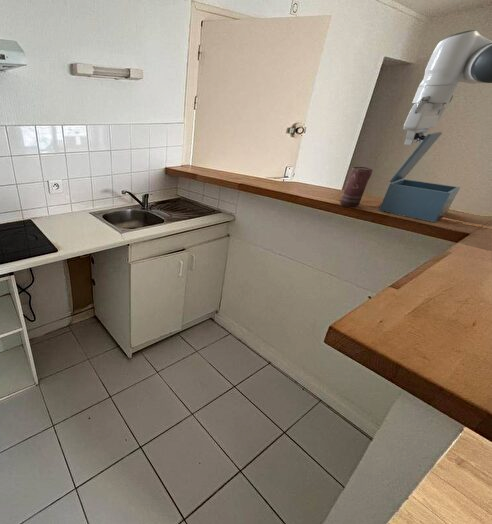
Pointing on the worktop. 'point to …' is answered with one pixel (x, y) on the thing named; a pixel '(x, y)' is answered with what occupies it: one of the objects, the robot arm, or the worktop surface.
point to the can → (355, 186)
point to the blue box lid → (416, 154)
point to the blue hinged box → (418, 199)
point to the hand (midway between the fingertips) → (412, 143)
